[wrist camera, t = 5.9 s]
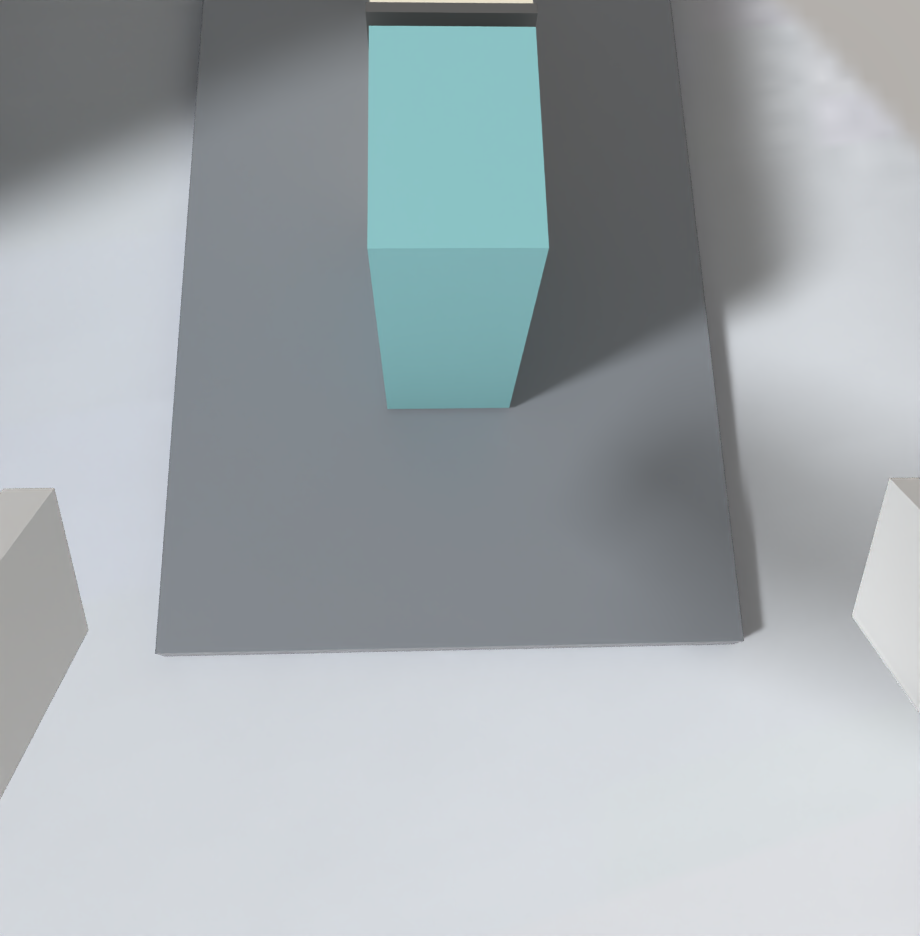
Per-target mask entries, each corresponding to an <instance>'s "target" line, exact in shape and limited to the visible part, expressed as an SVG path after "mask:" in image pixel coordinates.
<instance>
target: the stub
mask: <svg viewBox="0 0 920 936" xmlns="http://www.w3.org/2000/svg"><path fill="white" fill-rule="evenodd" d="M367 250H368V258H369V266H370V274H371V282H372V290H373V298H374V306H375V314H376V322H377V330H378V338H379V346H380V354H381V362H382V370H383V378H384V386H385V393H386V401H387V409H446V408H509V406H510V402H511V398H512V394H513V390H514V386H515V382H516V378H517V374H518V370H519V366H520V362H521V358H522V354H523V350H524V346H525V342H526V338H527V334H528V330H529V326H530V322H531V318H532V314H533V310H534V306H535V302H536V298H537V294H538V290H539V286H540V282H541V278H542V274H543V270H544V266H545V262H546V258H547V254H548V250H549V239H548V223H547V206H546V189H545V173H544V156H543V139H542V123H541V106H540V89H539V73H538V56H537V39H536V27H481V26H369V77H368V224H367Z"/></svg>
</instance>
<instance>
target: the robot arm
mask: <svg viewBox="0 0 920 936" xmlns="http://www.w3.org/2000/svg"><path fill="white" fill-rule="evenodd" d="M852 617H853V619H854V620H855V622H856V623H857V625H858V626H859V628H860V629H861V630H862V632H863V633H864V635H865V636H866V638H867V639H868V641H869V642H870V643H871V645H872V646H873V648H874V649H875V651H876V652H877V653H878V655H879V656H880V658H881V659H882V661H883V662H884V664H885V665H886V666H887V668H888V669H889V671H890V672H891V674H892V675H893V677H894V678H895V679H896V681H897V682H898V684H899V685H900V687H901V688H902V690H903V691H904V692H905V694H906V695H907V697H908V698H909V700H910V701H911V702H912V704H913V705H914V707H915V708H916V710H917V711H918V713H919V714H920V478H889V481H888V485H887V489H886V492H885V496H884V500H883V503H882V507H881V511H880V514H879V518H878V522H877V525H876V529H875V533H874V536H873V540H872V544H871V547H870V551H869V554H868V558H867V562H866V565H865V569H864V573H863V576H862V580H861V584H860V587H859V591H858V595H857V598H856V602H855V606H854V609H853V613H852ZM87 632H88V626H87V622H86V618H85V614H84V610H83V605H82V601H81V597H80V593H79V589H78V585H77V580H76V576H75V572H74V568H73V564H72V560H71V555H70V551H69V547H68V543H67V539H66V535H65V530H64V526H63V522H62V518H61V514H60V510H59V506H58V501H57V497H56V493H55V489H54V488H15V489H3V490H2V491H1V492H0V799H1V797H2V795H3V793H4V791H5V789H6V787H7V785H8V783H9V782H10V780H11V778H12V776H13V774H14V772H15V770H16V768H17V766H18V764H19V762H20V760H21V759H22V757H23V755H24V753H25V751H26V749H27V747H28V745H29V743H30V741H31V739H32V737H33V736H34V734H35V732H36V730H37V728H38V726H39V724H40V722H41V720H42V718H43V716H44V714H45V712H46V711H47V709H48V707H49V705H50V703H51V701H52V699H53V697H54V695H55V693H56V691H57V689H58V688H59V686H60V684H61V682H62V680H63V678H64V676H65V674H66V672H67V670H68V668H69V666H70V665H71V663H72V661H73V659H74V657H75V655H76V653H77V651H78V649H79V647H80V645H81V643H82V642H83V640H84V638H85V636H86V634H87Z"/></svg>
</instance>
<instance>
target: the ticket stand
mask: <svg viewBox="0 0 920 936" xmlns="http://www.w3.org/2000/svg"><path fill="white" fill-rule="evenodd" d="M369 26H481V27H536V39H537V56H538V73H539V89H540V106H541V123H542V139H543V156H544V173H545V189H546V206H547V223H548V239H549V250H548V254H547V258H546V262H545V266H544V270H543V274H542V278H541V282H540V286H539V290H538V294H537V298H536V302H535V306H534V310H533V314H532V318H531V322H530V326H529V330H528V334H527V338H526V342H525V346H524V350H523V354H522V358H521V362H520V366H519V370H518V374H517V378H516V382H515V386H514V390H513V394H512V398H511V402H510V406H509V408H446V409H387V401H386V393H385V386H384V378H383V370H382V362H381V354H380V346H379V338H378V330H377V322H376V314H375V306H374V298H373V290H372V282H371V274H370V266H369V258H368V250H367V224H368V77H369ZM742 641H744V638H743V629H742V620H741V612H740V603H739V594H738V586H737V577H736V568H735V559H734V551H733V542H732V533H731V525H730V516H729V507H728V499H727V490H726V481H725V472H724V464H723V455H722V446H721V438H720V429H719V420H718V412H717V403H716V394H715V386H714V377H713V368H712V359H711V351H710V342H709V333H708V325H707V316H706V307H705V299H704V290H703V281H702V273H701V264H700V255H699V246H698V238H697V229H696V220H695V212H694V203H693V194H692V186H691V177H690V168H689V159H688V151H687V142H686V133H685V125H684V116H683V107H682V99H681V90H680V81H679V73H678V64H677V55H676V46H675V38H674V29H673V20H672V12H671V3H670V0H203V12H202V26H201V39H200V53H199V66H198V80H197V94H196V107H195V121H194V134H193V148H192V161H191V175H190V188H189V202H188V216H187V229H186V243H185V256H184V270H183V283H182V297H181V310H180V324H179V337H178V351H177V365H176V378H175V392H174V405H173V419H172V432H171V446H170V459H169V473H168V487H167V500H166V514H165V527H164V541H163V554H162V568H161V581H160V595H159V609H158V622H157V636H156V649H155V654H159V655H162V656H201V655H248V654H294V653H341V652H387V651H434V650H480V649H527V648H574V647H620V646H667V645H713V644H735V643H739V642H742Z"/></svg>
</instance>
